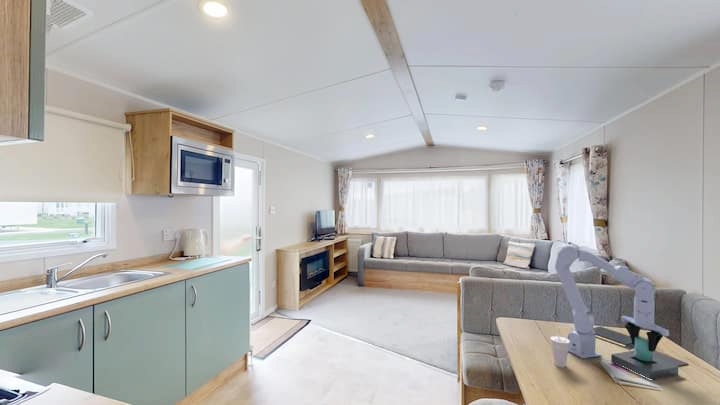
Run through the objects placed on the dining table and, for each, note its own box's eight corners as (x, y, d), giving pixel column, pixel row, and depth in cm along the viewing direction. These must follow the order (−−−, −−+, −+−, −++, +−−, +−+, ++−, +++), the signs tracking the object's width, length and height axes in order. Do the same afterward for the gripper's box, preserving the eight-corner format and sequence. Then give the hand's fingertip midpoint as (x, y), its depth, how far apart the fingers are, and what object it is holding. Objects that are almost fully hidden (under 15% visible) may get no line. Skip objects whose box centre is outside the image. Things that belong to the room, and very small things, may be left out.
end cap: (646, 362, 115) (646, 343, 115) (631, 355, 120) (631, 337, 120) (656, 360, 116) (656, 341, 116) (640, 354, 121) (641, 335, 121)
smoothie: (552, 358, 125) (553, 323, 125) (571, 364, 120) (572, 328, 120) (548, 364, 120) (548, 328, 120) (567, 371, 116) (568, 333, 116)
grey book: (648, 340, 138) (628, 347, 132) (648, 345, 138) (628, 351, 132) (598, 324, 157) (579, 329, 151) (598, 328, 157) (579, 333, 151)
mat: (667, 368, 118) (667, 367, 118) (635, 354, 128) (635, 353, 128) (688, 364, 121) (688, 363, 121) (654, 351, 131) (654, 350, 131)
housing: (649, 380, 110) (649, 371, 110) (611, 362, 122) (611, 354, 122) (678, 374, 114) (678, 366, 113) (637, 357, 126) (638, 349, 126)
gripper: (675, 317, 112) (674, 355, 112) (630, 304, 126) (630, 338, 126) (661, 319, 110) (660, 357, 110) (617, 305, 124) (617, 340, 124)
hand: (643, 347), depth 118 cm, fingers closed on end cap, 5 cm apart
